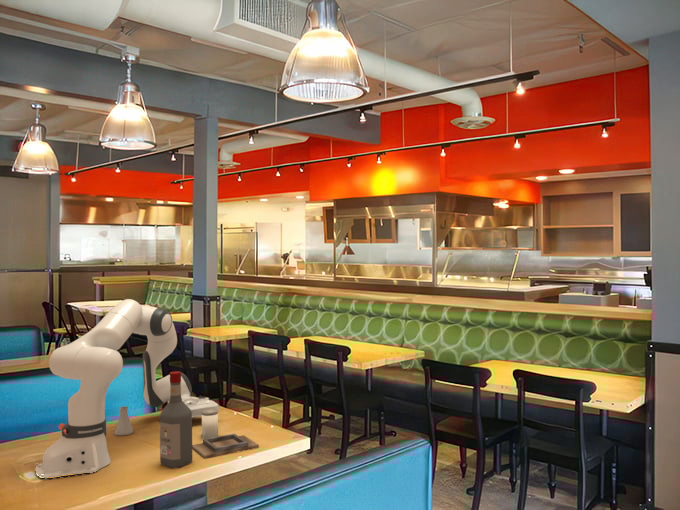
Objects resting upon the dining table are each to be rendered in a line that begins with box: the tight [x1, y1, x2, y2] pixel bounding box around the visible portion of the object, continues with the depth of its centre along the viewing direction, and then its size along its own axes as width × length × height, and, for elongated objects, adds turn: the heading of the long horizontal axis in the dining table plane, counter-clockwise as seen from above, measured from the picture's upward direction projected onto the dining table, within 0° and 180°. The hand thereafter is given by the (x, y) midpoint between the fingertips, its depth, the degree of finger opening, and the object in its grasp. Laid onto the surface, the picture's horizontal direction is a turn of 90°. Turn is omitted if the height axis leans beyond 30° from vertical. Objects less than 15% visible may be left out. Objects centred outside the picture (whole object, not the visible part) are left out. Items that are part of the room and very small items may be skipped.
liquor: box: [159, 370, 193, 469], centre depth 199 cm, size 9×9×30 cm
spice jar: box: [201, 408, 219, 440], centre depth 226 cm, size 6×6×10 cm
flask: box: [113, 406, 135, 437], centre depth 231 cm, size 7×7×10 cm
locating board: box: [192, 433, 259, 460], centre depth 214 cm, size 20×13×2 cm, turn 123°
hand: (199, 415), depth 235 cm, fingers open, 8 cm apart
